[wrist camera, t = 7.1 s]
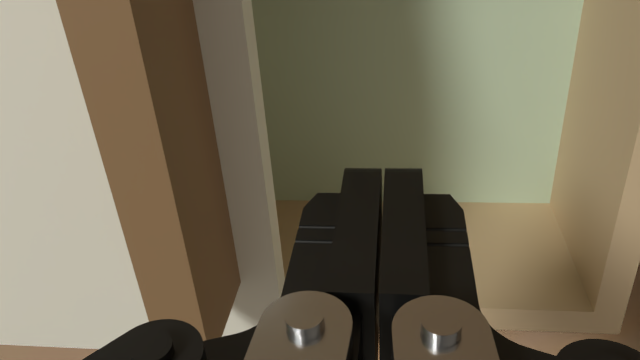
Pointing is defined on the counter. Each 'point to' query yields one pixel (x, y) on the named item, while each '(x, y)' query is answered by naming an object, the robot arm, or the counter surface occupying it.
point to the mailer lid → (132, 170)
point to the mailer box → (474, 134)
